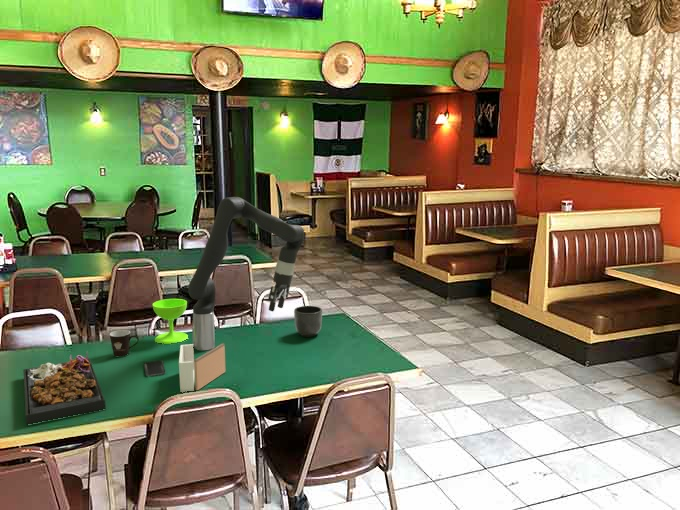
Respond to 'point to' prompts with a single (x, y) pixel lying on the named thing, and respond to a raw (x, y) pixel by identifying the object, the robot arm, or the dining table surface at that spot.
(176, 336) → the wineglass
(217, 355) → the panel
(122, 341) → the coffee mug
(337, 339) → the dining table surface
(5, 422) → the dining table surface
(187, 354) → the box
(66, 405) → the food platter
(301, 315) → the planter
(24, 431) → the dining table surface
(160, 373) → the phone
